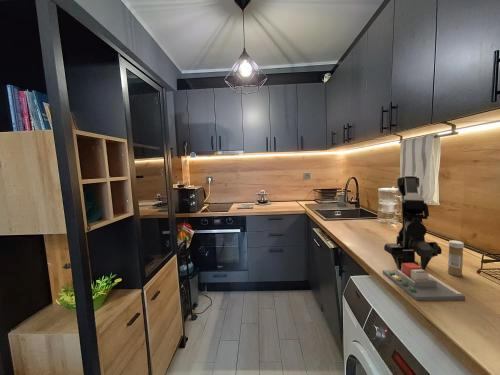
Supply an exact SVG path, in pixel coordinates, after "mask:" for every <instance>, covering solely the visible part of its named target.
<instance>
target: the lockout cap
mask: <svg viewBox="0 0 500 375" xmlns="http://www.w3.org/2000/svg"><path fill="white" fill-rule="evenodd" d="M418 269H422V267H421V266H420V265H418V264H414V263H401V270H402V273H404V274H405V275H407V276H408V277H409V278H411V270H418Z"/></svg>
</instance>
